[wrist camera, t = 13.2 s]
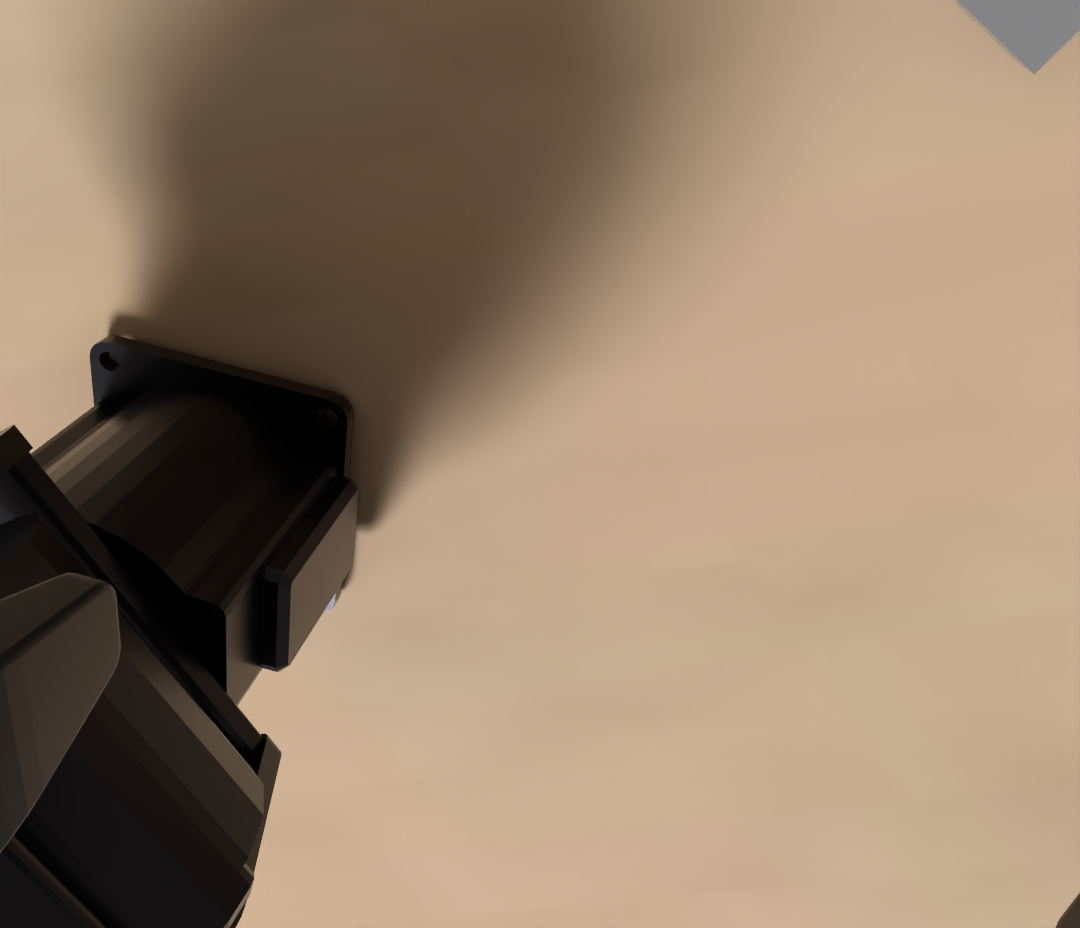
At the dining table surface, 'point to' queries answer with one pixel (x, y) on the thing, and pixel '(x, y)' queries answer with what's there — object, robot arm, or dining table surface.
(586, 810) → the dining table surface
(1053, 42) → the carrier plate
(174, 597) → the robot arm
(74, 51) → the dining table surface
